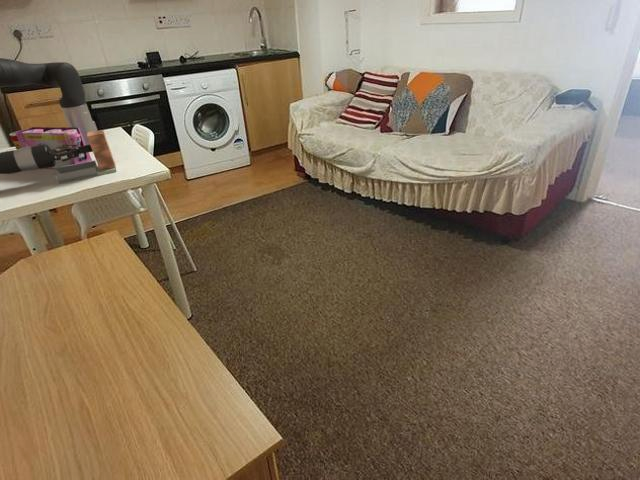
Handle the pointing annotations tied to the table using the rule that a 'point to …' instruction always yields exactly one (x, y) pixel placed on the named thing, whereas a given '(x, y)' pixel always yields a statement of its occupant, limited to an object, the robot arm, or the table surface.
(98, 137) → the block
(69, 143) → the gum box
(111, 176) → the table surface
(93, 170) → the chute
